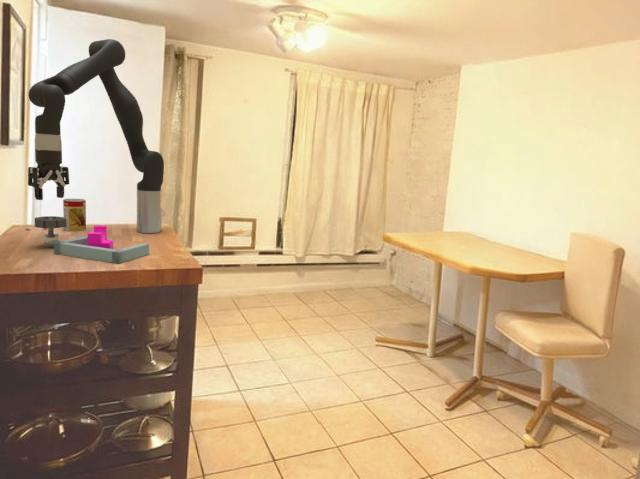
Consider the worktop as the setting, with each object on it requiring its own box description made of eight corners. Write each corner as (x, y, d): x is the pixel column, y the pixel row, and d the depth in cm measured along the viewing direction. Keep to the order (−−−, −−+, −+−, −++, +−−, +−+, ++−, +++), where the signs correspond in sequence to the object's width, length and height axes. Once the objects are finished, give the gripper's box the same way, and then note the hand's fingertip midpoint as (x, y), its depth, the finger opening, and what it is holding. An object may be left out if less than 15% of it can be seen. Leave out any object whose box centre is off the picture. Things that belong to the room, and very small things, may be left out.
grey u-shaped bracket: (88, 245, 163) (88, 235, 162) (149, 254, 157) (149, 244, 156) (54, 253, 148) (53, 242, 148) (119, 263, 142) (119, 252, 142)
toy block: (109, 257, 150) (109, 234, 149) (87, 256, 148) (87, 233, 147) (114, 247, 164) (114, 226, 163) (95, 246, 162) (94, 225, 161)
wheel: (50, 222, 161) (50, 215, 161) (72, 225, 159) (72, 218, 158) (28, 226, 152) (27, 218, 152) (50, 229, 150) (50, 221, 150)
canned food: (90, 230, 189) (89, 200, 186) (70, 232, 182) (70, 201, 180) (78, 227, 193) (78, 198, 191) (59, 228, 186) (59, 198, 184)
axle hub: (51, 244, 160) (50, 217, 158) (61, 246, 158) (61, 218, 157) (40, 246, 155) (39, 218, 154) (51, 248, 154) (50, 220, 153)
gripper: (56, 148, 159) (57, 196, 162) (19, 147, 145) (22, 199, 148) (74, 150, 157) (75, 198, 160) (39, 149, 143) (41, 201, 146)
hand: (49, 198), depth 154 cm, fingers open, 8 cm apart
